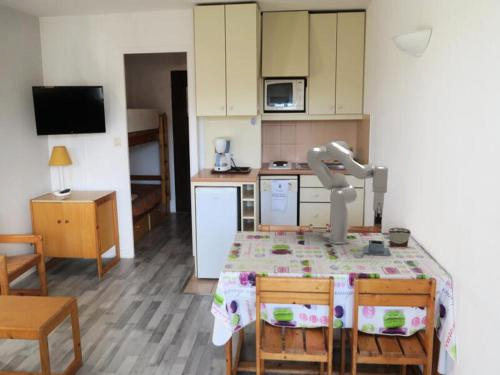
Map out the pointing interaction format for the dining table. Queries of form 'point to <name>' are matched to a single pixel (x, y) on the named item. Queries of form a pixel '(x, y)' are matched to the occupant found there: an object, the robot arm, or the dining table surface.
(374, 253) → the cup bracket
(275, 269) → the dining table surface
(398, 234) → the food container
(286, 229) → the dining table surface
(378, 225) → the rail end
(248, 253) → the dining table surface
